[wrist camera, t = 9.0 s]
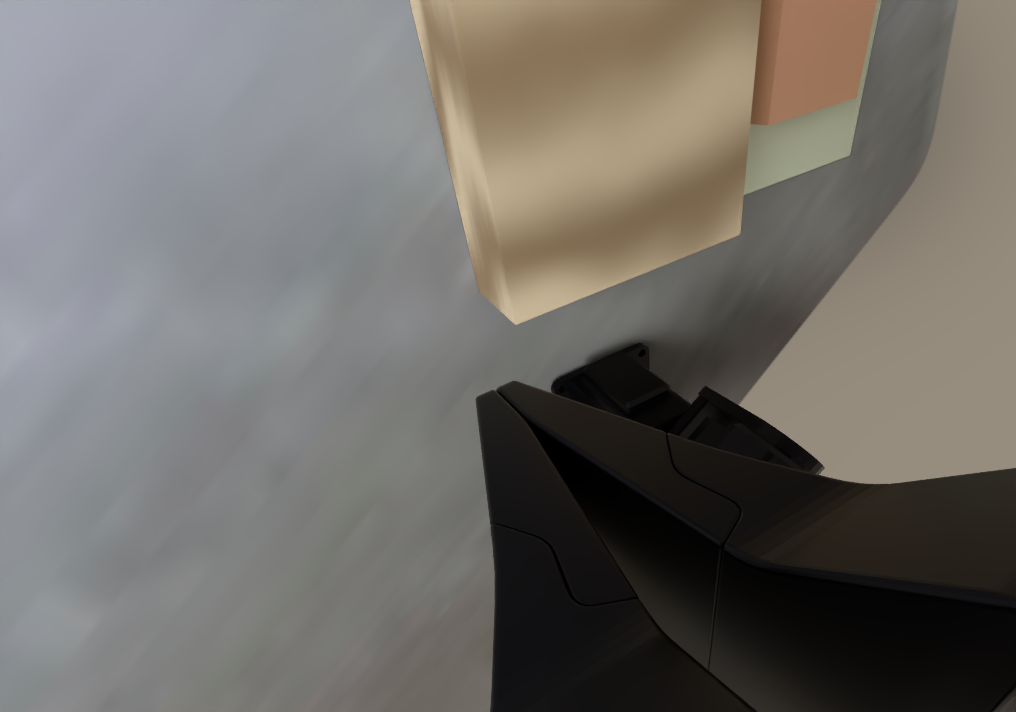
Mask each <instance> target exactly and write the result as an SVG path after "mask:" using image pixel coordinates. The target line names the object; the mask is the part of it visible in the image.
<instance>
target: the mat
mask: <svg viewBox="0 0 1016 712" xmlns="http://www.w3.org/2000/svg"><path fill="white" fill-rule="evenodd" d="M881 1H882V0H877V3H876V8H875V13H874V18H873V23H872V27H871V32H870V37H869V42H868V47H867V52H866V56H865V61H864V66H863V71H862V76H861V80H860V85H859V90H858V95H857V98H855V99H851V100H848V101H845V102H842V103H839V104H835V105H832V106H829V107H826V108H823V109H819V110H816V111H813V112H810V113H806V114H803V115H800V116H797V117H794V118H790V119H787V120H784V121H781V122H778V123H774V124H771V125H757V124H750V132H749V143H748V154H747V165H746V176H745V187H744V195H746V194H748V193H751V192H754V191H756V190H759V189H762V188H764V187H767V186H770V185H772V184H775V183H778V182H780V181H783V180H786V179H788V178H791V177H794V176H796V175H799V174H802V173H804V172H807V171H810V170H812V169H815V168H818V167H820V166H823V165H826V164H828V163H831V162H834V161H836V160H839V159H842V158H844V157H847V156H850V152H851V147H852V143H853V138H854V133H855V128H856V123H857V118H858V113H859V108H860V103H861V99H862V94H863V89H864V84H865V79H866V74H867V69H868V64H869V59H870V54H871V50H872V45H873V40H874V35H875V30H876V25H877V20H878V15H879V10H880V6H881Z"/></svg>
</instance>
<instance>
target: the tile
mask: <svg viewBox="0 0 1016 712" xmlns="http://www.w3.org/2000/svg"><path fill="white" fill-rule="evenodd" d="M876 3H877V0H762V2H761V13H760V23H759V34H758V45H757V56H756V67H755V78H754V89H753V100H752V111H751V122H750V124H757V125H771V124H774V123H778V122H781V121H784V120H787V119H790V118H794V117H797V116H800V115H803V114H806V113H810V112H813V111H816V110H819V109H823V108H826V107H829V106H832V105H835V104H839V103H842V102H845V101H848V100H851V99H855V98H857V95H858V90H859V85H860V80H861V76H862V71H863V66H864V61H865V56H866V52H867V47H868V42H869V37H870V32H871V27H872V23H873V18H874V13H875V8H876Z"/></svg>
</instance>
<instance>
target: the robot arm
mask: <svg viewBox="0 0 1016 712" xmlns="http://www.w3.org/2000/svg"><path fill="white" fill-rule="evenodd" d="M639 352H640V353H639ZM561 386H562V388H561V389H559V388H560V387H561ZM551 391H552V393H550V392H547V391H544V390H541V389H538V388H535V387H532V386H529V385H526V384H524V383H521V382H518V381H512V382H509V383H507V384H505V385H502V386H500V387H498V388H497V389H496V391H495V390H491V391H489V392H486V393H484V394H482V395H480V396H478V397H477V398H476V408H477V416H478V425H479V433H480V441H481V450H482V458H483V467H484V475H485V484H486V492H487V501H488V509H489V517H490V524H491V536H492V545H493V557H494V570H495V612H494V639H493V666H492V692H491V707H490V712H1016V468H1012V469H1005V470H997V471H988V472H980V473H973V474H965V475H958V476H950V477H942V478H934V479H926V480H918V481H911V482H904V483H895V484H863V483H855V482H847V481H842V480H837V479H833V478H828V477H825V476H821V475H819V474H820V473H821V472H822V470H823V469H824V466H823V465H822V464H821V463H820V462H819V461H818V460H817V459H815V458H814V457H813V456H812V455H811V454H810V453H808V452H807V451H806V450H805V449H803V448H802V447H801V446H799V445H798V444H797V443H795V442H794V441H793V440H791V439H790V438H789V437H787V436H786V435H785V434H783V433H782V432H780V431H779V430H777V429H776V428H775V427H773V426H771V425H770V424H769V423H767V422H766V421H764V420H762V419H761V418H759V417H757V416H756V415H754V414H752V413H751V412H749V411H747V410H745V409H744V408H742V407H740V406H739V405H737V404H735V403H734V402H732V401H730V400H728V399H727V398H725V397H723V396H722V395H720V394H718V393H717V392H715V391H713V390H711V389H710V388H708V387H706V386H704V388H703V389H702V390H701V391H700V392H699V393H698V394H699V396H698V397H697V398H696V400H695V401H694V402H693V403H692V404H690V403H689V402H687V401H686V400H685V399H683V398H682V397H681V396H679V395H678V394H676V393H675V392H674V391H672V390H671V389H670V385H669V384H667V383H666V382H665V381H663V380H662V379H660V378H659V377H658V376H656V375H655V374H654V373H652V372H651V371H649V349H648V347H647V346H646V345H644V344H643V343H638V344H635V345H633V346H631V347H629V348H626V349H624V350H622V351H620V352H617V353H615V354H613V355H611V356H608V357H606V358H604V359H602V360H600V361H597V362H595V363H593V364H591V365H588V366H586V367H584V368H582V369H579V370H577V371H575V372H573V373H570V374H568V375H566V376H564V377H561V378H559V379H557V380H556V381H554V383H553V384H552V386H551Z"/></svg>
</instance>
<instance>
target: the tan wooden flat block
mask: <svg viewBox="0 0 1016 712" xmlns="http://www.w3.org/2000/svg"><path fill="white" fill-rule="evenodd" d="M761 2H762V0H410V3H411V7H412V12H413V16H414V20H415V24H416V28H417V33H418V37H419V41H420V45H421V49H422V54H423V58H424V62H425V66H426V70H427V75H428V79H429V83H430V87H431V91H432V96H433V100H434V104H435V108H436V112H437V117H438V121H439V125H440V129H441V133H442V138H443V142H444V146H445V150H446V154H447V159H448V163H449V167H450V171H451V175H452V179H453V184H454V188H455V192H456V196H457V200H458V205H459V209H460V213H461V217H462V221H463V226H464V230H465V234H466V238H467V242H468V247H469V251H470V255H471V259H472V263H473V268H474V272H475V276H476V280H477V284H478V289H479V292H480V293H481V294H482V295H483V296H485V297H486V298H487V299H488V300H489V301H490V302H491V303H492V304H493V305H494V306H495V307H497V308H498V309H499V310H500V311H501V312H502V313H503V314H504V315H505V316H506V317H507V318H509V319H510V320H511V321H512V322H513V323H514V324H515V325H517V324H519V323H522V322H524V321H527V320H529V319H532V318H534V317H537V316H539V315H542V314H544V313H547V312H549V311H552V310H554V309H557V308H559V307H562V306H564V305H567V304H569V303H572V302H574V301H576V300H579V299H581V298H584V297H586V296H589V295H591V294H594V293H596V292H599V291H601V290H604V289H606V288H609V287H611V286H614V285H616V284H619V283H621V282H624V281H626V280H629V279H631V278H634V277H636V276H639V275H641V274H644V273H646V272H649V271H651V270H653V269H656V268H658V267H661V266H663V265H666V264H668V263H671V262H673V261H676V260H678V259H681V258H683V257H686V256H688V255H691V254H693V253H696V252H698V251H701V250H703V249H706V248H708V247H711V246H713V245H716V244H718V243H721V242H723V241H726V240H728V239H730V238H733V237H735V236H738V235H740V230H741V220H742V209H743V198H744V187H745V176H746V165H747V154H748V143H749V132H750V122H751V111H752V100H753V89H754V78H755V67H756V56H757V45H758V34H759V23H760V13H761Z"/></svg>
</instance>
